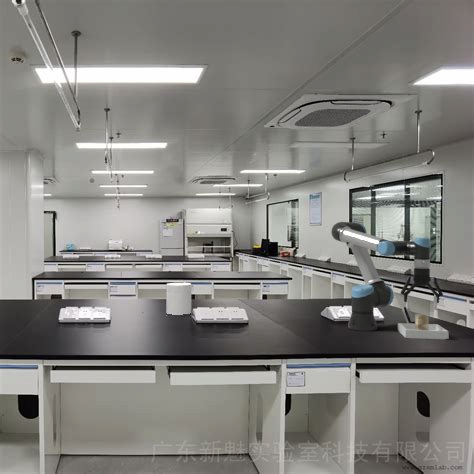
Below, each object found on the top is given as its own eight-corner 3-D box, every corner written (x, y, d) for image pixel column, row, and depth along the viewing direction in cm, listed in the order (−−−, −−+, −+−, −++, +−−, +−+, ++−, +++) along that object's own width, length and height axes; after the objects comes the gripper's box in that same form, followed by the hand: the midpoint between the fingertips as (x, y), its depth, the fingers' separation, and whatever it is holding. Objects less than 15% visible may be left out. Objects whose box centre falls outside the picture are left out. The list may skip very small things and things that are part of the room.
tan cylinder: (418, 333, 218) (418, 316, 218) (415, 331, 223) (415, 314, 223) (428, 334, 218) (428, 316, 218) (425, 332, 222) (425, 314, 223)
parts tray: (405, 338, 213) (405, 330, 213) (397, 330, 231) (397, 323, 231) (448, 339, 210) (448, 331, 210) (437, 331, 228) (437, 324, 228)
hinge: (416, 323, 250) (409, 307, 251) (407, 326, 251) (401, 309, 252) (415, 318, 265) (409, 303, 266) (407, 321, 267) (401, 305, 268)
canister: (161, 315, 276) (161, 284, 276) (177, 311, 289) (177, 282, 290) (180, 317, 267) (180, 285, 268) (196, 314, 281) (196, 283, 281)
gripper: (398, 267, 219) (397, 309, 219) (450, 268, 215) (449, 311, 215) (395, 266, 226) (394, 306, 226) (445, 267, 222) (444, 308, 223)
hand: (421, 309), depth 221 cm, fingers open, 13 cm apart
